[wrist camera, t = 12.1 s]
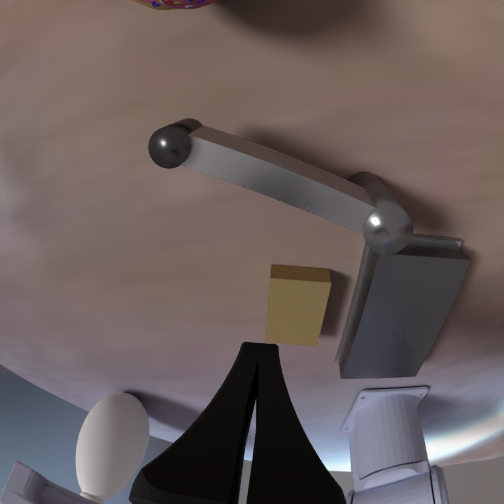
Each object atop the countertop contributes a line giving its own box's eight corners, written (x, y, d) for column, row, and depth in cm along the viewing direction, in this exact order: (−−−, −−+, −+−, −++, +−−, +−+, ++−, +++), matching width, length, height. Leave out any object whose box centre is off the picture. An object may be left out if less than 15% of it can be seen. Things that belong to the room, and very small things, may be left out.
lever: (183, 141, 18) (143, 168, 13) (194, 104, 16) (155, 115, 11) (371, 214, 19) (397, 263, 14) (388, 181, 18) (423, 221, 13)
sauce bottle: (167, 398, 32) (124, 537, 17) (151, 420, 36) (115, 534, 21) (106, 369, 31) (46, 502, 16) (99, 395, 35) (52, 506, 20)
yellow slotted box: (264, 342, 23) (266, 326, 25) (316, 345, 23) (315, 330, 24) (270, 278, 20) (271, 264, 22) (331, 282, 20) (328, 268, 21)
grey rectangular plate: (409, 357, 25) (416, 378, 23) (335, 358, 26) (337, 380, 24) (459, 238, 19) (474, 256, 17) (367, 229, 20) (377, 248, 17)
